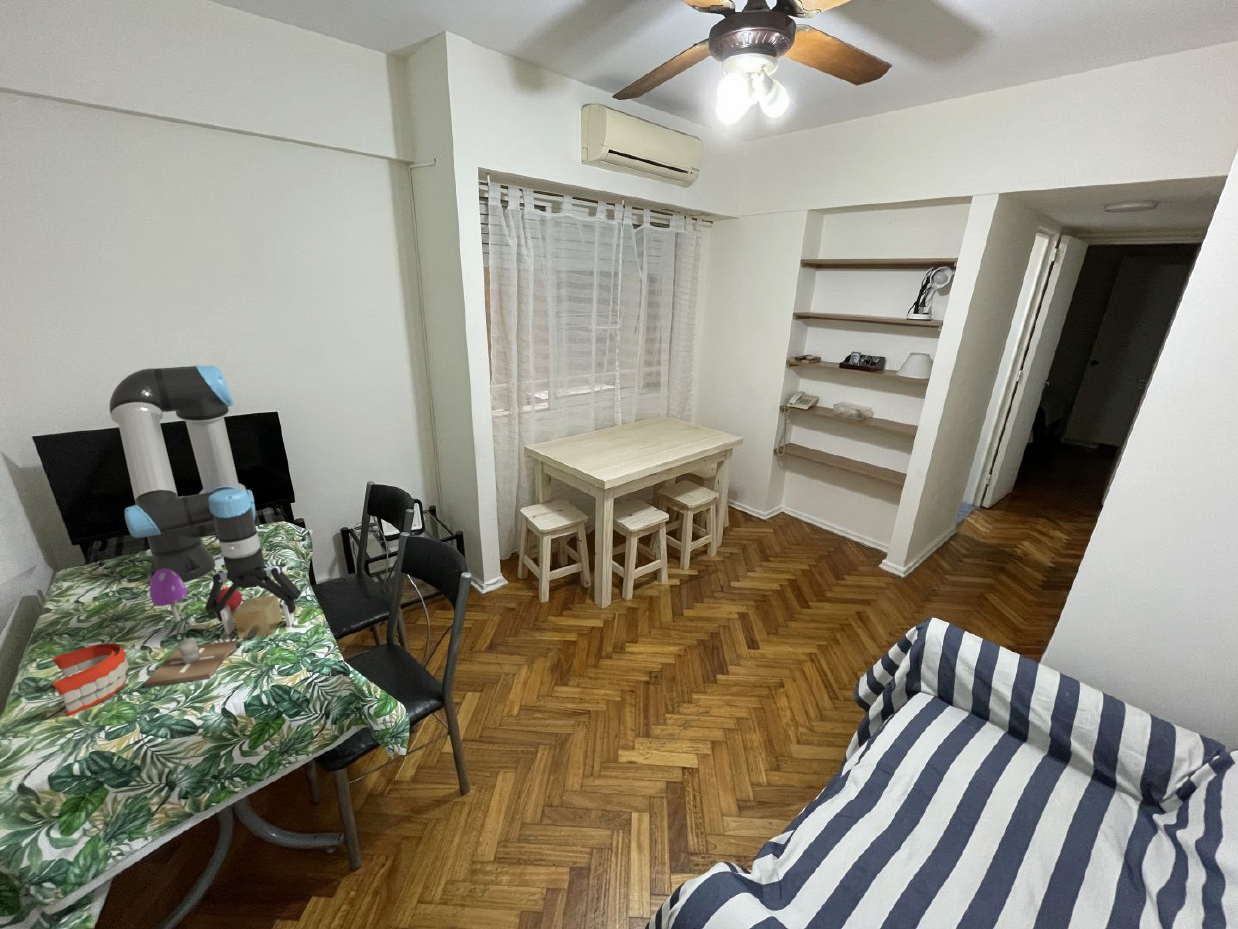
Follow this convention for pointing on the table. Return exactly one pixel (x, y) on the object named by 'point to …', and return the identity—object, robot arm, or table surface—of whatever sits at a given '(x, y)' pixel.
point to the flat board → (190, 663)
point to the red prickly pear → (231, 598)
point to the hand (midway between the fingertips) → (261, 627)
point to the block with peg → (257, 616)
